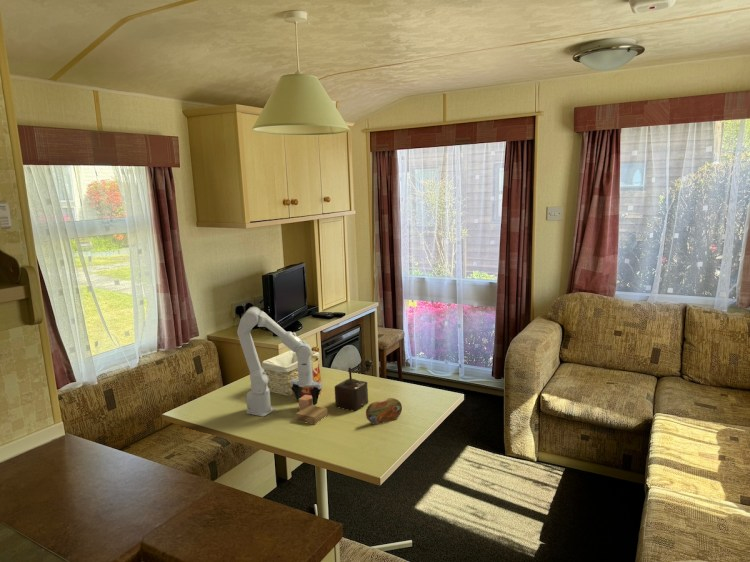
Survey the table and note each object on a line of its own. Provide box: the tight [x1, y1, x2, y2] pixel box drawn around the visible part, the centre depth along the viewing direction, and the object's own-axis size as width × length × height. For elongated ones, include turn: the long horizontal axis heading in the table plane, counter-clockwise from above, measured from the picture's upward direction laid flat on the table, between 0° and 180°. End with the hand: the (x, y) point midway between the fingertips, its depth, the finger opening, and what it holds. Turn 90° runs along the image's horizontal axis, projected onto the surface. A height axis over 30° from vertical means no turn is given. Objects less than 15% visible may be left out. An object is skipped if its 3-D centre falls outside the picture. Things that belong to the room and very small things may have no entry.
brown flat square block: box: [295, 405, 328, 425], centre depth 207 cm, size 9×9×3 cm
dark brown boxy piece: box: [334, 359, 374, 412], centre depth 219 cm, size 16×11×18 cm
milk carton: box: [302, 355, 323, 398], centre depth 230 cm, size 9×9×20 cm
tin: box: [365, 397, 403, 425], centre depth 202 cm, size 15×3×8 cm, turn 117°
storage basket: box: [261, 349, 320, 397], centre depth 242 cm, size 24×16×15 cm
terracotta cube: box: [298, 395, 317, 411], centre depth 217 cm, size 5×5×5 cm
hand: (307, 402), depth 217 cm, fingers open, 7 cm apart
